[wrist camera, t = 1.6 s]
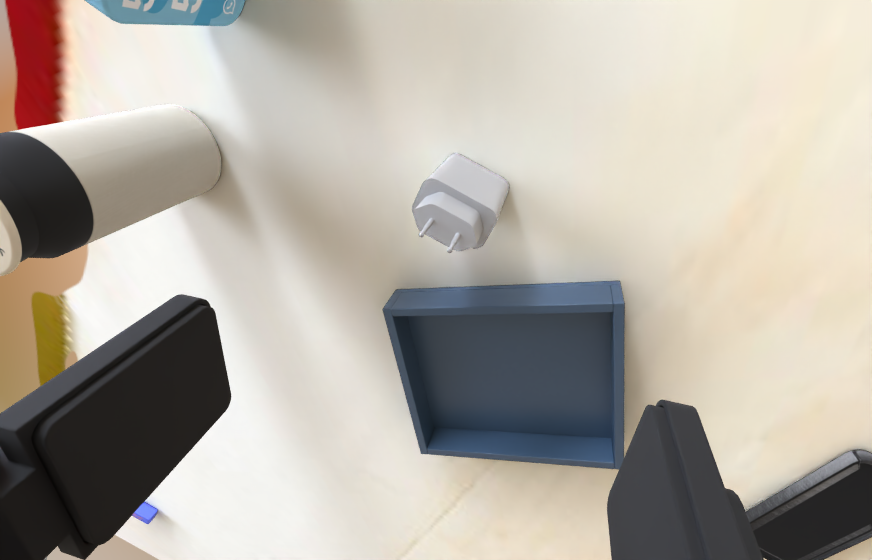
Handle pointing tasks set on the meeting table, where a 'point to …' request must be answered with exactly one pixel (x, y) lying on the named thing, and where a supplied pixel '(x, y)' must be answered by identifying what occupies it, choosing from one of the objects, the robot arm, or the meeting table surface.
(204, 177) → the travel mug
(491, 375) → the tray
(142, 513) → the eraser
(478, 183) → the power adapter
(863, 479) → the phone
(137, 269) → the meeting table surface
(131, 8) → the data package
